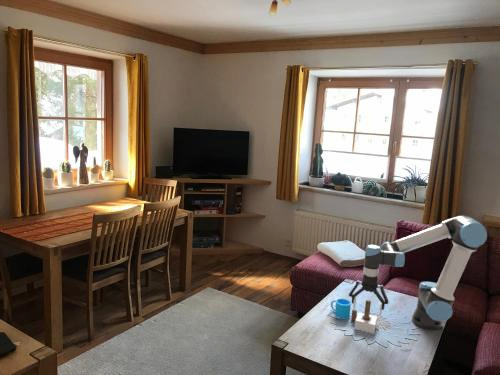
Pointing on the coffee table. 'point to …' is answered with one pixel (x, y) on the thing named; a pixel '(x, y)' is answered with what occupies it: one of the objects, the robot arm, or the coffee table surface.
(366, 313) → the long dowel
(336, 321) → the coffee table surface
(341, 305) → the mug
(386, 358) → the coffee table surface
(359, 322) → the hole block
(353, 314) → the short dowel
